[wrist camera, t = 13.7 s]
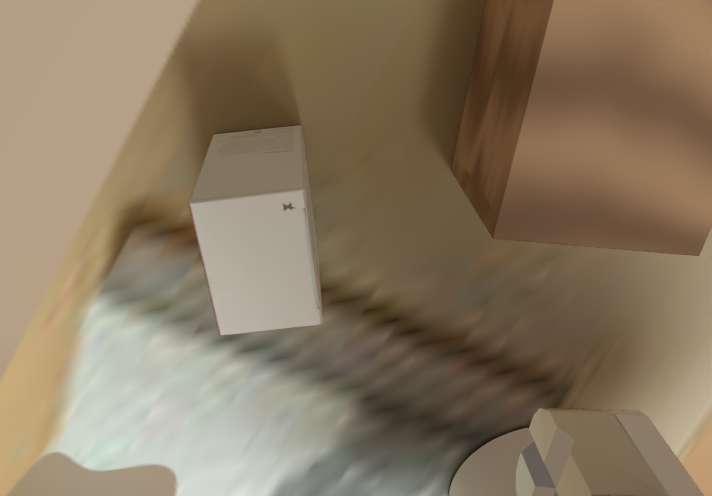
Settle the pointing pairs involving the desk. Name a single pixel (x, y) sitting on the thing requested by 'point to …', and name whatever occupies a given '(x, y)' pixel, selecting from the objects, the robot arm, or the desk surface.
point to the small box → (258, 231)
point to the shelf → (591, 124)
